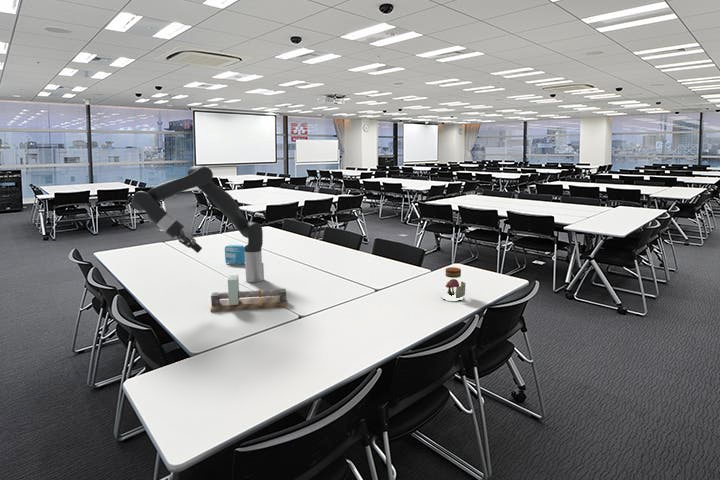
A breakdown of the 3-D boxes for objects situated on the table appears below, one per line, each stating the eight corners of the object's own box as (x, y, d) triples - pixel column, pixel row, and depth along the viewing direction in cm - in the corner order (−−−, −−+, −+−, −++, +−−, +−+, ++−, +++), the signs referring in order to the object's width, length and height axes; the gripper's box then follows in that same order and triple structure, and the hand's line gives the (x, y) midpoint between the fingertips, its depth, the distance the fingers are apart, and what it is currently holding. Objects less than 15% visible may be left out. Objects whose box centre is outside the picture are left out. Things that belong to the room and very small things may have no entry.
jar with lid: (439, 302, 215) (440, 271, 212) (441, 294, 227) (442, 265, 224) (464, 303, 212) (465, 273, 209) (464, 295, 224) (466, 266, 221)
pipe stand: (210, 311, 202) (209, 296, 200) (214, 303, 213) (213, 288, 212) (286, 307, 208) (286, 292, 206) (286, 299, 219) (285, 284, 218)
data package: (225, 264, 289) (224, 245, 287) (229, 262, 294) (228, 244, 291) (242, 265, 286) (241, 246, 284) (245, 263, 291) (244, 245, 288)
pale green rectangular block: (229, 305, 205) (227, 280, 202) (231, 299, 212) (229, 275, 210) (238, 304, 205) (236, 279, 203) (239, 299, 213) (238, 275, 211)
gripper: (172, 222, 197) (203, 247, 202) (179, 217, 211) (207, 241, 215) (160, 234, 197) (191, 259, 202) (168, 229, 211) (197, 253, 215)
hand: (200, 250), depth 208 cm, fingers open, 3 cm apart
